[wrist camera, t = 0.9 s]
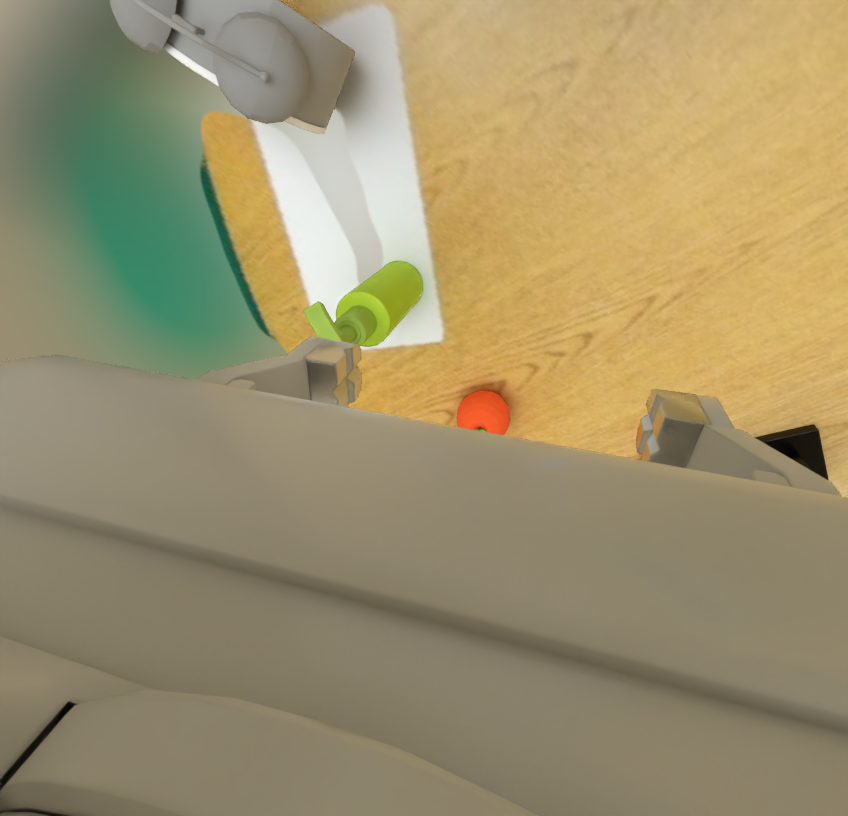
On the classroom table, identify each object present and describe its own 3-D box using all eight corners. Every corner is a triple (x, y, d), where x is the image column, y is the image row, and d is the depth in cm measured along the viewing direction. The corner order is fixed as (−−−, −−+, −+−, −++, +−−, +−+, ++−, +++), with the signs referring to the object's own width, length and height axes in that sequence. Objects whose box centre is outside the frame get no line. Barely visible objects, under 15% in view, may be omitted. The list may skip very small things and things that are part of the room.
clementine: (519, 428, 65) (514, 459, 59) (471, 434, 67) (461, 463, 61) (506, 377, 61) (500, 403, 55) (456, 385, 64) (445, 411, 58)
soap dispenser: (402, 244, 56) (333, 292, 39) (431, 294, 58) (377, 360, 42) (365, 267, 59) (285, 322, 42) (394, 315, 61) (329, 384, 44)
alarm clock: (227, 56, 51) (36, 16, 33) (248, -40, 46) (37, -152, 28) (356, 142, 52) (240, 149, 34) (389, 56, 47) (276, 9, 29)
